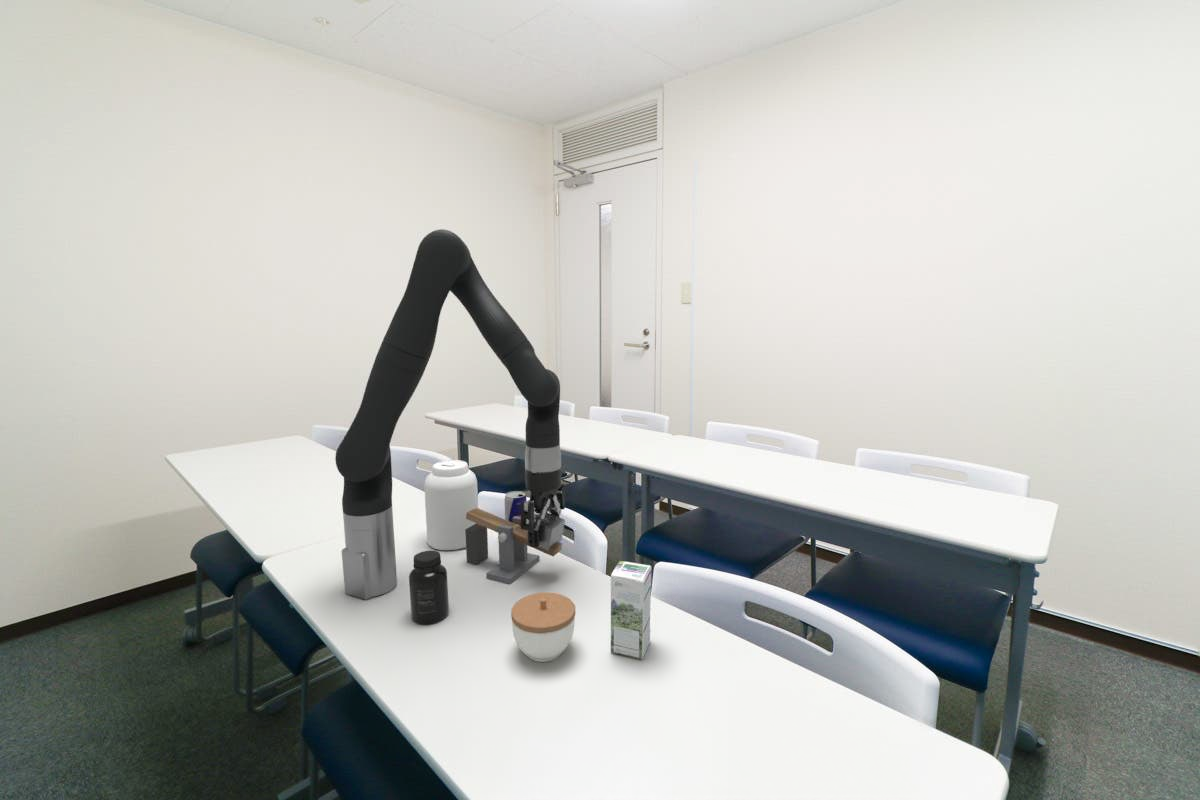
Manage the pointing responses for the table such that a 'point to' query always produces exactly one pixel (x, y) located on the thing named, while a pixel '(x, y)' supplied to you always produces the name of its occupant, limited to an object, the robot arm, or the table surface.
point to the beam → (495, 521)
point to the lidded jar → (543, 625)
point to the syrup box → (630, 609)
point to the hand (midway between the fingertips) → (544, 538)
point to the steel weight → (550, 531)
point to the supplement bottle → (428, 588)
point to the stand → (500, 552)
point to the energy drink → (513, 504)
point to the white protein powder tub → (449, 504)
